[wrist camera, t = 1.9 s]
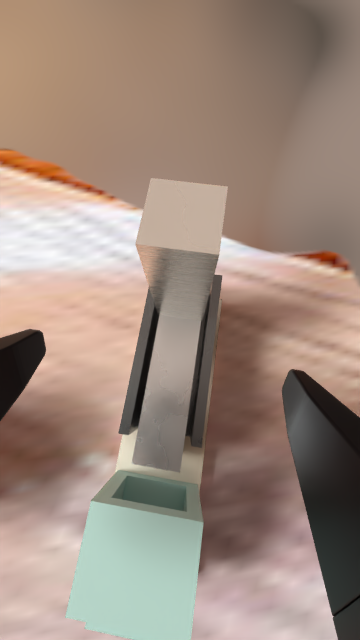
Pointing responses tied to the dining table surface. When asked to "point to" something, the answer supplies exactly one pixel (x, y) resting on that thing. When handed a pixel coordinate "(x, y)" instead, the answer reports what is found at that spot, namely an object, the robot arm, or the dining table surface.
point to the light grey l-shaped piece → (175, 306)
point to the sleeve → (200, 371)
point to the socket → (139, 559)
